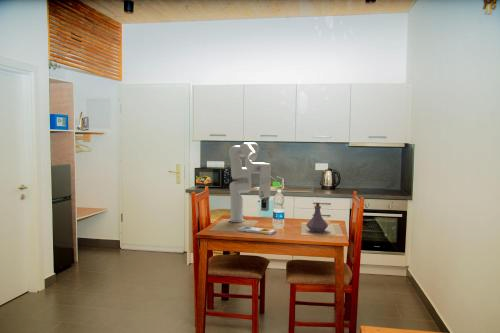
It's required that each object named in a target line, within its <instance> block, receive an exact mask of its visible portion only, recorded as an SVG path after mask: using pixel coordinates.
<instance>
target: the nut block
mask: <svg viewBox="0 0 500 333" xmlns="http://www.w3.org/2000/svg"><path fill="white" fill-rule="evenodd" d="M265 202H266V208H261V207H260V211H263V212H268V211H269V210H270V198H269V199H266V200H265Z"/></svg>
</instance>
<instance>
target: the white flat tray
mask: <svg viewBox="0 0 500 333" xmlns="http://www.w3.org/2000/svg"><path fill="white" fill-rule="evenodd" d="M236 230H237V231H238V232H244V231H246V233H252V234H259V235H260V234H263V235H270V236H271V235H274V234H276V232H277V229H272V228H270V229H269V228H264V227H263V228H262V227H256V226H255V227H254V226H244V225H242V226H240V227H238V228H236Z"/></svg>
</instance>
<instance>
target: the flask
mask: <svg viewBox="0 0 500 333" xmlns="http://www.w3.org/2000/svg"><path fill="white" fill-rule="evenodd" d="M313 208H314V214H313V216H312V217H311V219H309V221H308V222H307V223H306V225H305V226H306V227H307V228H308V230H309V231H310V232H312V231H313V232H312V233H324V232H325V231H326V229H327V228H328V227H329V223H327V222H326V220H325V219H324V218H323V217H322V213H321V208H322V206H321V205H320V202H316V203H315V205H314V207H313Z"/></svg>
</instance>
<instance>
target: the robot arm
mask: <svg viewBox="0 0 500 333" xmlns="http://www.w3.org/2000/svg"><path fill="white" fill-rule="evenodd" d="M259 151H260V146H259V145H258V143H256V142H243V143H241V144H240V145H232V146H230V148H229V151H228V152H229V154H228V155H229V158H230V169H231V170H230V174H231V175H230V176H231V178H232V180H234V181H232V182H230V183H229V192H230V218H228V222H230V221H231V222H230V223H242V222H245V219H244V217H245V214H244V212H243V210H244V208H243V206H244V204H243V196H242V195H241V194H246V193H250V192H251V190H252V174H259V186H258V187H259V188H258V197H259V199H260V203H261V204H260V209H261V208H266V202H265V200H266V199H269V200H270V197H271V193H272V192H271V183H272V181H271V180H272V179H271V178H272V174H271V173H272V165H271V163H270V162H269V163H268V162H267V163H266V162H259V161H258V162H255V160H256V159H257V158H258V153H259ZM240 157H244V158H245V159H244V167H243V162H242V159H241V158H240Z"/></svg>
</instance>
